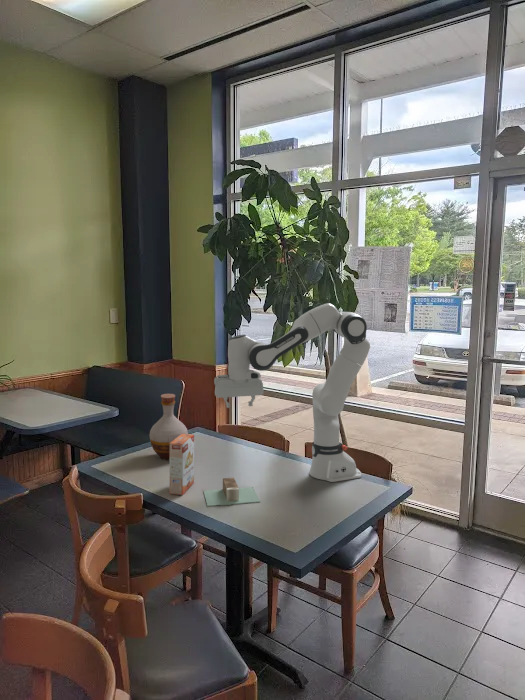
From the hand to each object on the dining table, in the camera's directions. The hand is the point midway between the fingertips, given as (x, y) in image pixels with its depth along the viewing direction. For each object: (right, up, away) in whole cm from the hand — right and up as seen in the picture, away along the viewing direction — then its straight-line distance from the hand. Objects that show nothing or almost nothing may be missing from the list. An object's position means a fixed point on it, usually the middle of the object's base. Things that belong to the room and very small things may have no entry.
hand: (239, 406), depth 219 cm
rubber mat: (-3, -33, -15) cm, 37 cm away
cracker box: (-23, -32, -7) cm, 40 cm away
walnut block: (-4, -30, -9) cm, 31 cm away
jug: (-35, -27, +31) cm, 54 cm away
